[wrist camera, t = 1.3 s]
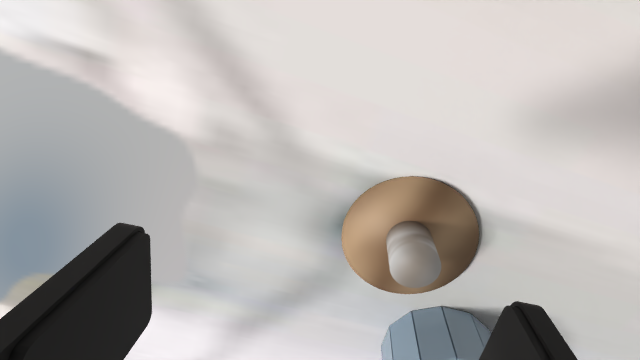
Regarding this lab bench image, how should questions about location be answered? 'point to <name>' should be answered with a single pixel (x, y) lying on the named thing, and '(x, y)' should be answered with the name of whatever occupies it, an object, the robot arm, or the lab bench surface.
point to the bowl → (435, 336)
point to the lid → (410, 235)
